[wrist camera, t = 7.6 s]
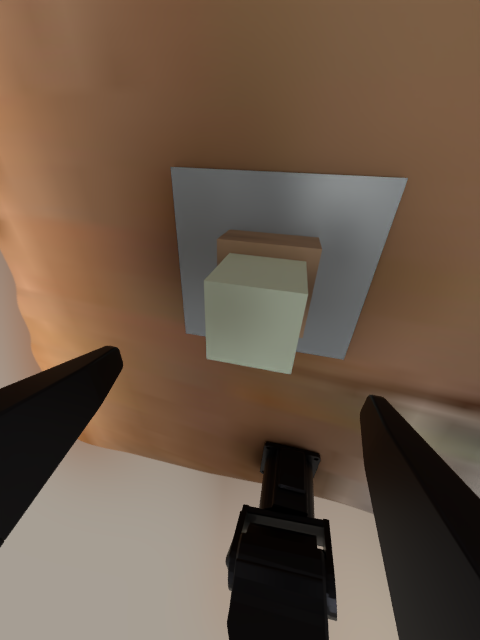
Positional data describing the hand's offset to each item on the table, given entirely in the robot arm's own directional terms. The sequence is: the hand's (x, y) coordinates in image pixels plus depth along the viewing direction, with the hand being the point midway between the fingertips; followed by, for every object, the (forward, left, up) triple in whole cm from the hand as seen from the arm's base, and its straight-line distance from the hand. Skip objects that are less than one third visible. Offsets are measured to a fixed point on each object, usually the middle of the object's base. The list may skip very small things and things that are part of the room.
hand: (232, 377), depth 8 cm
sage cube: (0, 0, -8) cm, 8 cm away
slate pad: (0, 0, -11) cm, 11 cm away
